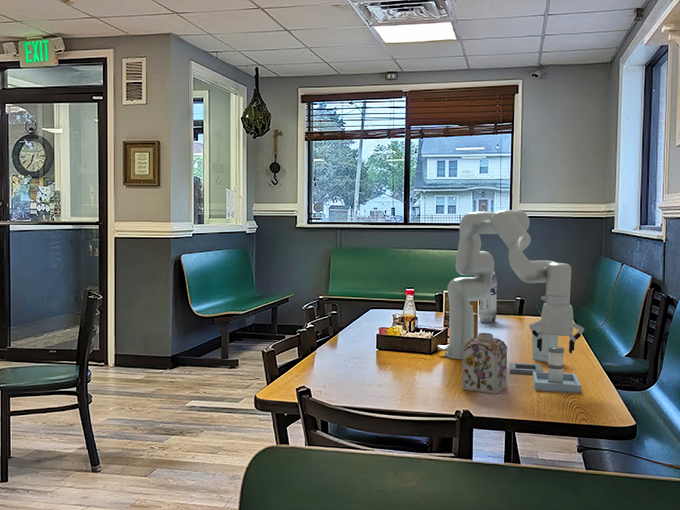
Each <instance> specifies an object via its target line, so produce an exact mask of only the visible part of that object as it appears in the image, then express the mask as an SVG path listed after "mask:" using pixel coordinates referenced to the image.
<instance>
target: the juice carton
mask: <svg viewBox="0 0 680 510" xmlns="http://www.w3.org/2000/svg"><path fill="white" fill-rule="evenodd" d="M497 293H498V279H497V274H496V271H494V273H493V278H492V283H491V289H490V293H489V295H488V297H487V298H486V299H484V300H480V305H479V304H478V317H479V321H480V323H488V322H494V323H495V322H496V319H497V303H498V302H497V301H498V299H497V296H498V294H497Z"/></svg>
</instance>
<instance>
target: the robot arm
mask: <svg viewBox="0 0 680 510" xmlns="http://www.w3.org/2000/svg"><path fill="white" fill-rule="evenodd" d="M530 223H531V222H530V218H529V216H528V214H527V213H526V212H524V211H523V210H517V209H501V210H498V211H473V212H472V211H471V212H467V213H466V214H464V215H463V216H462V218H461V220H460V222H459V241H458V247H457V252H456V257H455V258H456V260H455V270H456V272H457V273H458V274H459V275H461V276H465V277H456V278H453V279H452V280H450V281H449V282H448V285H447V288H446V289H447V296H448V303H449V326H448V327H449V331H448V333H449V334H448V335H449V336H448V337H449V338H448V344H446V345H442V344H438V345H437V350H438V351H440V352H441V351H442V352H444V351H445V352H444V356H445V357H446V358H449V359H453V360H463V348H464V346H465V344H466V342H467V340H468V339H471V338H474V336H475V335H474V329H475V328H474V327H475V320H474V319H475V317H474V316H475V313H474V312H475V311H474V308H473V306H472V305H471V302H477V301H478V302H479V300H484V299H486V298H487V297H488V295H489V293H490V289H491V283H492V278H493V273H494V272H495V260H494V257H493V255H492V254H491V253H490V252H489V251H487V250H481V247H482V239H481V235H498V236H499V238H500V239H501V241H503V243H504V244H505V246H506V247H507V248H508V249H509V250H508V263H509V266H510V268H511V270H513V272H514V273H515V274H516V276H517V277H518V278H519V279H520V280H521V281H522V282H524V283H526V284H527V283H528V284H537V283H542V284H544V283H546V290H545V295H541V297H540V299H541V301H544V303H543V304H542V305H543V306H542V310H541V316H540V320H537V321H535V322H532V323H530V324H529V325H528V327H529V329H530V331H531V333H533V334H534V335H535V337H536V338H537V348H539V351H542V338H541V337H542V336H543V335H544V334H546V335H558V337H559V336H561V337H569V343H568V352H569V354H573V352H574V351H575V342H576V341H577V340H578V339H579V338H581V336H582V334H583V332H584V331H585V328H584V327H582V326H581V325H579V324H577V323H575V322H574V310H573V306H572V305H571V304H570V303H571V302H570V300H571V287H572V286H571V283H572V267H571V265H570V264H569V263H564V262H555V261H554V260H550V259H549V260H545V259H543V260H538V259H537V260H530V259H529V258H528V257H527V256H526V255H525V254H524V252H523V251H524V250H525V249H527V247H529V245H530V244H531V241H532V240H531V239H532V238H531V235H530V234H529V233H528V232H527V231H528V230H529V227H530ZM471 276H473V277H471ZM539 325H540V329H541V331H540V332H539V333H537V332H536V331H535V329H534V328H535V327H536V326H539ZM574 328H575V329H576V330H578V331H577V333H575V334H573V333H574Z"/></svg>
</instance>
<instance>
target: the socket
mask: <svg viewBox="0 0 680 510" xmlns="http://www.w3.org/2000/svg"><path fill="white" fill-rule="evenodd" d="M533 371H534V372H544V371H543V368H542V364H539V363H538V364H537V363H521V362H509V374H515V375H516V374H517V375H529V376H531V375H532V376H533Z"/></svg>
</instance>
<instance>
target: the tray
mask: <svg viewBox="0 0 680 510" xmlns="http://www.w3.org/2000/svg"><path fill="white" fill-rule="evenodd" d="M532 381H533V387H534V390H535V391H540V392H541V391H544V392H557V393H573V394H581V393H582V384H581V383H580V380H579V379H578V376H577V374H576V373H567V372H563V384H561V383H548V371H543V372H534V371H533V375H532Z"/></svg>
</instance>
